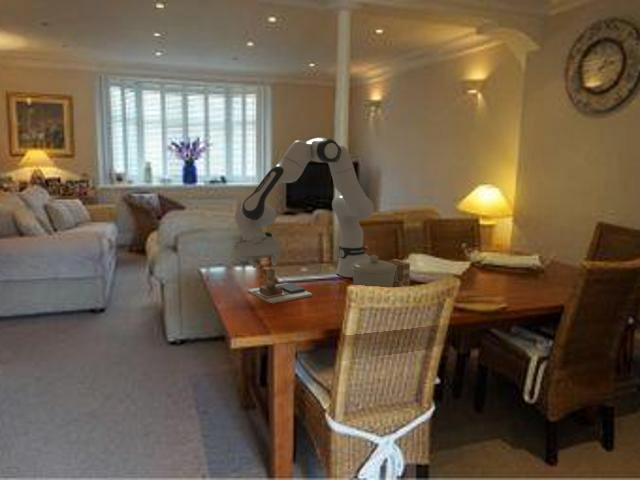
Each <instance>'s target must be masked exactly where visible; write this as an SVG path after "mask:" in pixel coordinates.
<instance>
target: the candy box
mask: <svg viewBox="0 0 640 480" xmlns="http://www.w3.org/2000/svg"><path fill="white" fill-rule="evenodd" d="M389 262H390V263H392V264H393V265H395V266H396V267H397V270H396V271H395V275H394V281H393V287H402V286H409V287H410V276H411V275H410V272H411V267H410V266H411V262H408V261H405V260H402V259H398V258H395V259H394V258H393V259H390V260H389Z"/></svg>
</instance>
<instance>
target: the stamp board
mask: <svg viewBox="0 0 640 480" xmlns="http://www.w3.org/2000/svg"><path fill="white" fill-rule="evenodd" d="M276 285H277V286H279V287H281V288H282V294H279V295H273V296H266V295H264V294H262V293H260V292H259V287H256V288H248V289H247V292H248V293H249V292H250V293H249V294H251V295H253V294H254V295H253V296H255V295H256V296H255V297H257V296H258V297H257V298H259V299H261V300H263V301H264V302H266V303H268V302H269V303H268V304H270V303H272V304H276V303H277V302H278V303H282V302H287V301H293V300H298V299H302V298H309V297H312V296H313V293H312V292H309V291H307V290H306V288H304V287H301V286H300V285H297V284H295V283H293V282H285V283H280V284H276Z"/></svg>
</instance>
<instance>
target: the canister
mask: <svg viewBox="0 0 640 480" xmlns="http://www.w3.org/2000/svg"><path fill="white" fill-rule="evenodd" d="M369 257H370V258H369V259H370V260H361V261H357V262H355V263H354V264H352V265H351V268H352V271H353V277H352V280H353V281H352V282H353V286H354V285H365V286H380V287H393V281H394V275H395V271H396V270H397V267H396V266H395V265H393V264H392V263H390V261H386V260H382V259H379V256H378V255H376V254H371V255H370V256H369Z"/></svg>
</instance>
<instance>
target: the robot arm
mask: <svg viewBox="0 0 640 480" xmlns="http://www.w3.org/2000/svg"><path fill="white" fill-rule="evenodd" d="M309 162H316V163H327V164H328V167H329V172H330V174H331V177H332V181H333V182H332V183H333V185H334V188H335V189H336V191H337V192H338V193H339V194H337V195H336V196H335V197H334V198H333V200H332V202H331V208H332V210H333V212H334V213H335V215H336V218H337V222H338V226H339V232H340V233H339V234H340V235H339V246H338V254H339V255H338V257H339V258H338V265H337V269H336V272H337V273H338V274H339V275H340V277H345V278H353V271H352V268H351V265H352V264H354V263H355V262H357V261H361V260H370V259H369V258H370V256H369V255H368V254H367V253H366V251H367V252H369V250H370V247H369V246H364V245H363V244H364V230H363V228H362V226H361V225H360V223H359V220H367V219H369V218H371V217H372V215H373V214H374V209H375V205H374V203H373V202H372V200H371V199H369V197H367V195H366V193H365V192H364V190H363V188H362V186H361V185H360V183H359V180H358V177H357V173H356V171H355V168H354V167H355V166H354V164H353V160H352V157H351V155H350V152H349V151H348V149H347V147H345V146H344V145H340V144H338V142H337V141H335V139H332V138H328V137H321V136H320V137H309V138H308V139H306V140H305V141H304V140H301V139H298V140H295V141H293V142H292V144H290V146H289V147H288V148H287V149H286V151H285V153H284V154H283V155H282V157H281V159H280V160H279V162H277V164H276V165H275V166H273V167H272V168H270V170H269V171H268V172H267V173H266V174H265V176H264V177H263V179H261V182H260V183H259V184H258V185H257V187H256V188H255V189H254V191H253V192H252V193H251V194H250V195H248V196H247V197H246V198H245V199H244V201H243V203H242V206H241V207H239V208H238V209H237V210H236V211H235V214H234V219H235V223H236V226H237V228H238V231H239V232H240V233H241V239H242V240H238V241H235V242H234V243H233V247H234V250H235V251H236V255H237V258H238V261H240V262H248V264H250V265H251V266H252V268H253V269H256V268H258V267H259V266H258V262H257V261H254V260H258V259H259V260H262V259H267V258H271V259H272V261H271V264H272V266H276V265H277V264H278V262H277V257H279V256H280V255H281V254H282V252H283V249H282V247H281V245H280V243H279V242H278V240H277V239H276V238H275V234H274V233H273V232H268V231H264V230H263V229H265V228H267V227H269V226H271V225H273V224H274V223H275V221H276V220H277V217H278V216H277V215H278V214H277V210H276V209H275V208H274V207H272V205H271V204H269V203H267V199H268V198H269V196H270V194H271V193H272V192H273V191H274V189H275V188H276V187H277V186H278V185H279V184H282V183H285V184H291V183H294V182H297V181H298V179H299V178H300V177H301V176H302V174H303V173H304V172H305V171H304V170H305V169H306V167H307V165H308V164H309ZM339 275H338V276H339Z"/></svg>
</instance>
